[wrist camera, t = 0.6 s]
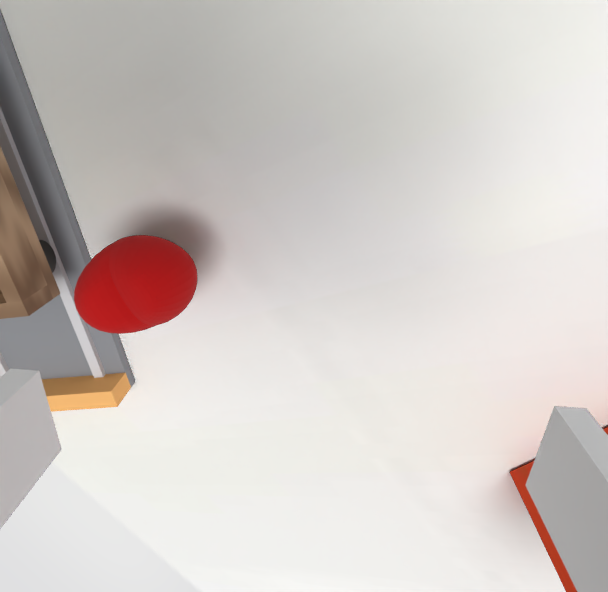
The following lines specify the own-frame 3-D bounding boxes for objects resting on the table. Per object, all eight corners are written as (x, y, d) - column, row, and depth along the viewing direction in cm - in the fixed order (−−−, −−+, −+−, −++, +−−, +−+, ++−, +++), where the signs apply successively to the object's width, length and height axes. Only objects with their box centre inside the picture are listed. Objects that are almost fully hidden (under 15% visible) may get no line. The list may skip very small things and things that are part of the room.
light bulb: (146, 304, 40) (91, 364, 31) (105, 238, 37) (32, 282, 28) (233, 272, 38) (202, 326, 29) (197, 199, 36) (149, 234, 26)
